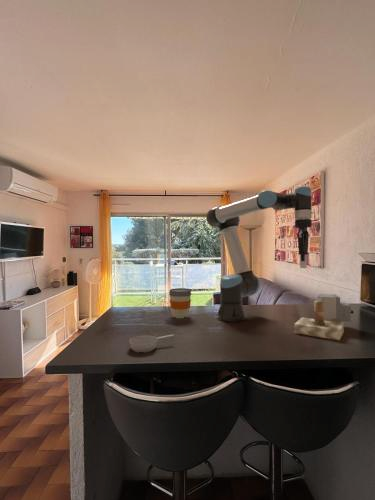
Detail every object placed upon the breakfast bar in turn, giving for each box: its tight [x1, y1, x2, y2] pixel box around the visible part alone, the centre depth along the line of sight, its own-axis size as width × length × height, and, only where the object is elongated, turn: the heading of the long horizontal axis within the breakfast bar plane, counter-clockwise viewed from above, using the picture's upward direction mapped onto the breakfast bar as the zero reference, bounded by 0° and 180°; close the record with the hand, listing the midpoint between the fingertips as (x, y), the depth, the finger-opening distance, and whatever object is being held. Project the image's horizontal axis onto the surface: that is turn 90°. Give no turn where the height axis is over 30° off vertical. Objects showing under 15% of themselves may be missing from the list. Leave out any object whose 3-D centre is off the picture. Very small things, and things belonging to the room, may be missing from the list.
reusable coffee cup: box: [168, 287, 192, 319], centre depth 158 cm, size 13×13×15 cm
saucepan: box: [129, 333, 175, 353], centre depth 110 cm, size 11×18×4 cm, turn 113°
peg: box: [313, 300, 324, 325], centre depth 126 cm, size 4×4×14 cm
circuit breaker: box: [317, 293, 354, 323], centre depth 134 cm, size 8×14×15 cm, turn 76°
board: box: [293, 317, 345, 341], centre depth 126 cm, size 18×14×4 cm
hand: (303, 267), depth 135 cm, fingers closed
